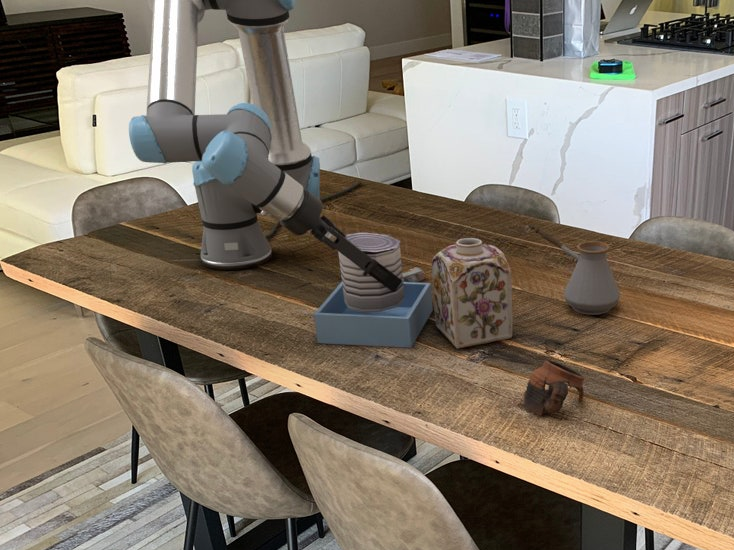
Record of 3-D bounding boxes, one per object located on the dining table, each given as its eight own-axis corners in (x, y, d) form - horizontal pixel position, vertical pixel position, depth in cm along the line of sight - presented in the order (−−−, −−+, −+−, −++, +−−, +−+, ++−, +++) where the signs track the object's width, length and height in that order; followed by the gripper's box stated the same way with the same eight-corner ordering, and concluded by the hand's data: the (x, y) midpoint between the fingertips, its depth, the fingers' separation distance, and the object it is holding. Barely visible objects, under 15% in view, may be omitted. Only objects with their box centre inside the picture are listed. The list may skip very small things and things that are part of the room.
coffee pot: (629, 304, 178) (633, 232, 171) (602, 323, 170) (605, 249, 162) (541, 283, 188) (541, 215, 180) (512, 301, 179) (510, 230, 171)
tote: (347, 306, 176) (343, 279, 173) (432, 310, 174) (430, 283, 172) (317, 343, 161) (313, 314, 158) (411, 347, 159) (408, 318, 156)
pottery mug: (513, 397, 144) (533, 352, 143) (564, 417, 147) (584, 373, 146) (525, 415, 133) (547, 366, 132) (580, 436, 136) (602, 389, 135)
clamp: (407, 263, 191) (436, 274, 185) (408, 272, 192) (437, 284, 187) (349, 280, 182) (378, 293, 176) (351, 290, 183) (379, 303, 177)
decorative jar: (455, 350, 158) (449, 255, 149) (433, 327, 167) (427, 236, 158) (515, 338, 163) (513, 245, 154) (491, 316, 172) (487, 227, 163)
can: (347, 290, 169) (340, 230, 163) (406, 288, 170) (401, 228, 164) (340, 313, 159) (332, 250, 153) (403, 311, 160) (397, 248, 154)
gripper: (262, 205, 158) (354, 272, 173) (296, 242, 141) (396, 313, 155) (287, 172, 158) (377, 242, 172) (324, 205, 140) (422, 280, 155)
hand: (386, 276), depth 164 cm, fingers closed on can, 11 cm apart
